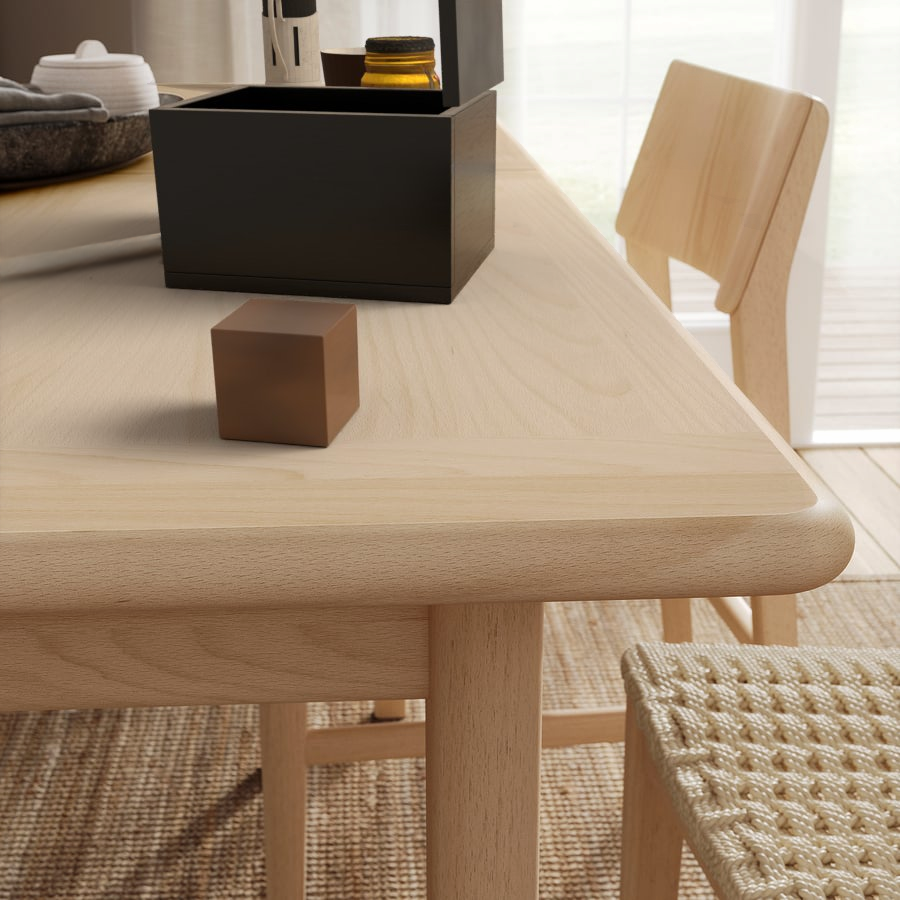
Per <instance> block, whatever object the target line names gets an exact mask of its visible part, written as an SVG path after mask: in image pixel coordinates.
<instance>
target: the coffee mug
mask: <svg viewBox="0 0 900 900" xmlns="http://www.w3.org/2000/svg"><path fill="white" fill-rule="evenodd" d="M319 51H320V62H321V67H322V72H323V73H322V74H323V81H324V86H332V87H361V79H362V77H363V76H364V74H365V73H366V72H367V70H366V66H365V57H366V49H365V46H356V47H335V48H326V49H320V50H319Z"/></svg>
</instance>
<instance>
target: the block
mask: <svg viewBox="0 0 900 900" xmlns="http://www.w3.org/2000/svg"><path fill="white" fill-rule="evenodd" d="M357 307H358V305H357V304H355V303H343V302H342V303H341V302H328V301H327V302H325V301H310V300H308V301H307V300H293V299H275V298H259V297H253V298H251V299H249V300H248V301H246V302H245V303H244V304H242V305H241V306H240V307H239V308H237V309H235V310H234V311H233V312H231V313H230V314H229V315H227V316H226V317H225V318H223V319H222V320H221V321H219V322H218V323H216V324H214V326H212V327H211V328H210V341H211V352H212V365H213V366H212V367H213V378H214V389H215V390H214V391H215V401H216V414H217V415H216V416H217V424H218V425H217V427H218V437H219V438H220V439H226V440H227V439H228V440H229V439H230V440H239V441H252V442H264V443H276V444H287V445H300V446H313V447H324V448H327V447H329V446H330V445H331V444H332V443H333V441H334V440H335V438H337V436H338V435H339V433H341V431H342V430H343V429H344V427H345V426H346V425H347V424H348V422H349V421H350V420H351V419H352V417H353V416H354V415H355V414H356V413H357V411H358V410H359V409H360V406H361V403H360V402H361V400H360V372H359V371H360V369H359V339H358V311H357V309H358V308H357Z"/></svg>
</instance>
